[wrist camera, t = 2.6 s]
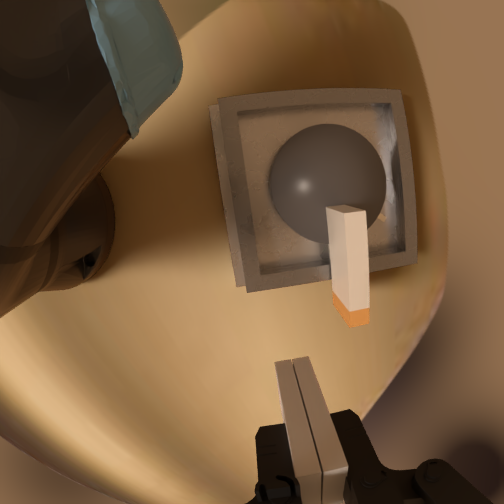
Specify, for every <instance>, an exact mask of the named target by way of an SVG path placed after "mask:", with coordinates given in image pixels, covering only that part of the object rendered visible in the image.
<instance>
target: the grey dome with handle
mask: <svg viewBox="0 0 504 504" xmlns="http://www.w3.org/2000/svg"><path fill="white" fill-rule="evenodd" d="M386 188H387V183H386V174H385V169H384V166H383V163H382V160H381V158H380V156H379V154H378V153H377V151H376V149H375V148H374V147H373V145H372V144H371V143H370V142H369V141H368V140H367V139H366V138H365V137H363V136H362V135H361V134H360V133H358V132H356V131H355V130H353V129H350V128H348V127H345V126H342V125H338V124H317V125H313V126H310V127H307V128H305V129H303V130H301V131H299V132H298V133H296V134H295V135H293V136H292V137H291V138H290V139H289V140H287V141H286V142H285V143H284V144H283V145H282V146H281V148H280V149H279V151H278V152H277V154H276V155H275V157H274V160H273V162H272V165H271V168H270V174H269V191H270V195H271V199H272V202H273V205H274V207H275V209H276V211H277V212H278V214H279V215H280V217H281V218H282V219H283V221H284V222H285V223H286V224H287V225H288V226H289V227H290V228H291V229H293V230H294V231H295V232H296V233H298V234H299V235H301V236H302V237H304V238H306V239H308V240H311V241H314V242H317V243H322V244H329V247H330V260H331V274H332V290H333V305H334V306H335V308H336V309H337V311H338V312H339V313H340V315H341V316H342V318H343V319H344V320H345V322H346V323H347V325H348V326H349V328H351V327H355V326H360V325H364V324H369V257H368V236H367V229H368V228H370V227H371V225H372V224H373V223H374V222H375V220H376V219H377V217H378V216H379V214H380V212H381V210H382V207H383V204H384V201H385V196H386Z"/></svg>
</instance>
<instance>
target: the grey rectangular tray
mask: <svg viewBox="0 0 504 504" xmlns="http://www.w3.org/2000/svg"><path fill="white" fill-rule="evenodd" d="M209 113H210V120H211V127H212V134H213V141H214V148H215V154H216V161H217V168H218V175H219V181H220V188H221V194H222V201H223V207H224V213H225V220H226V226H227V232H228V238H229V245H230V251H231V257H232V263H233V269H234V275H235V281H236V287H240V286H246V290H247V293H249V292H256V291H262V290H269V289H276V288H282V287H288V286H294V285H301V284H307V283H313V282H319V281H324V280H330V279H332V274H331V260H330V247H329V244H322V243H317V242H314V241H311V240H308V239H306V238H304V237H302V236H301V235H299V234H298V233H296V232H295V231H294V230H293V229H291V228H290V227H289V226H288V225H287V224H286V223H285V222H284V221H283V219H282V218H281V217H280V215H279V214H278V212H277V211H276V209H275V207H274V205H273V202H272V199H271V195H270V191H269V174H270V168H271V165H272V162H273V160H274V157H275V155H276V154H277V152H278V151H279V149H280V148H281V146H282V145H283V144H284V143H285V142H286V141H287V140H289V139H290V138H291V137H292V136H293V135H295V134H296V133H298V132H299V131H301V130H303V129H305V128H307V127H310V126H313V125H317V124H338V125H342V126H345V127H348V128H350V129H353V130H355V131H356V132H358V133H360V134H361V135H362V136H363V137H365V138H366V139H367V140H368V141H369V142H370V143H371V144H372V145H373V147H374V148H375V149H376V151H377V153H378V154H379V156H380V158H381V160H382V163H383V166H384V169H385V174H386V183H387V188H386V196H385V201H384V204H383V207H382V210H381V212H380V214H379V216H378V217H377V219H376V220H375V222H374V223H373V224H372V225H371V227H370V228H368V229H367V236H368V257H369V272H374V271H380V270H385V269H390V268H395V267H400V266H405V265H410V264H415V263H417V215H416V197H415V184H414V173H413V164H412V155H411V147H410V140H409V133H408V127H407V121H406V115H405V110H404V104H403V99H402V94H401V90H397V89H377V88H321V89H300V90H286V91H274V92H264V93H255V94H246V95H239V96H232V97H225V98H218V104H215V105H209Z"/></svg>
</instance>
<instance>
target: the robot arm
mask: <svg viewBox="0 0 504 504" xmlns="http://www.w3.org/2000/svg"><path fill="white" fill-rule="evenodd" d="M182 71H183V61H182V53H181V49H180V45H179V42H178V40H177V37H176V34H175V32H174V29H173V27H172V25H171V23H170V21H169V19H168V17H167V15H166V13H165V11H164V9H163V7H162V5H161V4H160V2H159V0H0V318H1V317H3V316H4V315H6V314H7V313H8V312H10V311H11V310H13V309H14V308H15V307H17V306H18V305H20V304H21V303H23V302H24V301H26V300H27V299H29V298H30V297H32V296H33V295H34V294H36V293H37V292H41V291H56V290H66V289H70V288H73V287H76V286H78V285H80V284H81V283H83V282H85V281H86V280H87V279H89V278H90V277H91V276H93V275H94V274H95V273H96V272H97V271H98V270H99V269H100V268H101V266H102V265H103V263H104V262H105V260H106V258H107V256H108V254H109V252H110V249H111V246H112V242H113V237H114V230H115V216H114V207H113V202H112V199H111V195H110V192H109V190H108V188H107V185H106V183H105V181H104V180H103V178H102V177H101V175H100V174H99V172H100V171H101V169H102V168H103V167H104V166H105V165H106V164H107V163H108V162H109V160H110V159H111V158H112V157H113V156H114V155H115V154H116V153H117V152H118V151H119V150H120V149H121V148H122V146H123V145H124V144H125V143H126V142H127V141H128V140H129V139H130V138H132V139H134V138H135V137H136V136H137V135H138V133H139V128H140V126H141V125H142V124H143V123H144V122H145V121H146V120H147V119H148V118H149V117H150V116H151V115H152V114H153V113H154V112H155V111H156V110H157V109H158V107H159V106H160V105H161V104H162V103H163V102H164V101H165V100H166V99H167V98H168V97H170V96H171V95H172V93H173V92H174V91H175V90H176V88H177V87H178V85H179V83H180V80H181V77H182ZM292 361H293V365H292V362H291V359H290V360H284V361H278V362H275V369H276V377H277V384H278V392H279V399H280V406H281V412H282V417H283V424H276V425H269V426H262V427H260V428H259V430H258V432H257V434H256V436H255V440H256V454H257V468H258V482H257V484H256V486H255V494H256V496H255V497H254V498H253V499H252V500H251V501H249V502H248V503H246V504H340V503H343V498H344V501H345V504H493V503H492V502H491V501H490V500H489V499H488V498H486V497H485V496H484V495H483V494H482V493H481V492H480V491H478V490H477V489H476V488H475V487H474V486H473V485H472V484H471V483H470V482H468V481H467V480H466V479H465V478H464V477H463V476H462V475H461V474H460V473H458V472H457V471H456V470H455V469H454V468H453V467H452V466H451V465H450V464H448V463H447V462H445V461H443V460H441V459H430V460H427V461H425V462H423V463H422V464H420V466H418V468H417V469H411V470H392V469H389V468H387V467H385V466H383V465H382V464H381V462H380V461H379V459H378V457H377V455H376V453H375V450H374V448H373V446H372V444H371V442H370V440H369V437H368V435H367V434H366V431H365V429H364V427H363V424H362V422H361V420H360V418H359V416H358V415H357V414H355V413H354V412H353V411H352V410H350V409H348V410H344V411H340V412H336V413H331V414H330V413H329V411H328V408H327V405H326V402H325V400H324V397H323V394H322V392H321V389H320V386H319V383H318V381H317V378H316V375H315V373H314V370H313V367H312V365H311V362H310V359H309V356H307V357H302V358H296V359H292Z"/></svg>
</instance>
